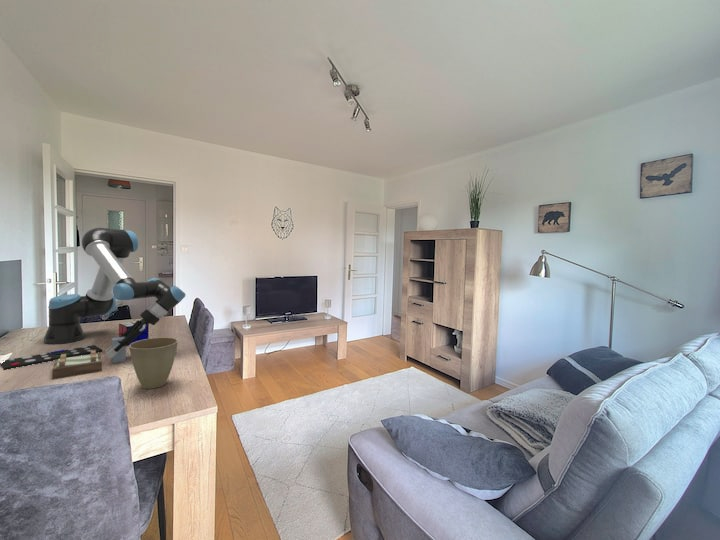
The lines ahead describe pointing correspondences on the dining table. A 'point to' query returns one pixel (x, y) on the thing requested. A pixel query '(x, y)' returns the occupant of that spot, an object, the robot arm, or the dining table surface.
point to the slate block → (122, 353)
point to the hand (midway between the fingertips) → (107, 354)
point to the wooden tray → (76, 365)
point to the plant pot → (153, 360)
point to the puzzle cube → (126, 326)
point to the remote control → (48, 357)
